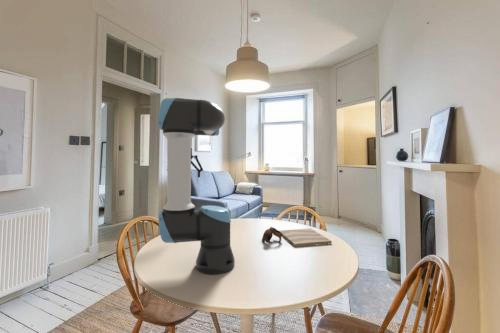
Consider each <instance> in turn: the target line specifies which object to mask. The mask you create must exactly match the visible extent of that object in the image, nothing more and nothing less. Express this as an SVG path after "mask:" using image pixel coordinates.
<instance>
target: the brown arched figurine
mask: <svg viewBox="0 0 500 333" xmlns="http://www.w3.org/2000/svg"><path fill="white" fill-rule="evenodd" d="M262 235H263V236H262V239H261V242H262V243H264V244H265V243H270V242H271V240H272V238H273V236H274V237H277V238H279V239H278V243H279V244H280V243H281V241H282V237H283V236H282V234H281V233H280V232H279V230H278V229H277V228H275V227H273V226H270V227H269V228H267V229H266V230H265V231H264V232H263V234H262Z"/></svg>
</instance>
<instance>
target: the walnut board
mask: <svg viewBox="0 0 500 333" xmlns="http://www.w3.org/2000/svg"><path fill="white" fill-rule="evenodd" d="M278 231H279V232H280V233H281V234H282V236H281V237H282V238H284V240H286V241H287V242H288V243H289V244H291V245H292V246H293V247H294V248H297V247H300V248H301V247H309V246H308V245H312V246H317V245H316V244H324V245H328V244H327V243H331V244H332V240H330V239H329V238H328V237H326V236H324V235H322V234H320V232H317V231H316V230H314V229H312V228H298V229H297V228H296V229H283V230H282V229H281V230H280V229H279V230H278Z"/></svg>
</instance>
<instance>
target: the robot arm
mask: <svg viewBox="0 0 500 333" xmlns="http://www.w3.org/2000/svg"><path fill="white" fill-rule="evenodd" d="M225 120H226V116H225V113H224V112H223V109H221V107H219V106H218V105H217V104H216V103H214V102H212V101H210V100H206V99H191V98H181V97H170V98H169V97H166V98H163V99H162V100H161V102H160V105H159V110H158V116H157V121H158V122H157V126H158V129H159V130H161V131H162V135H163V136H164V137H165V138H166V140H167V141H166V149H167V150H166V154H167V155H166V156H167V158H166V159H167V161H166V163H167V166H166V168H167V169H166V171H167V176H166V178H167V179H166V183H167V188H166V190H167V191H166V192H167V194H166V197H167V200H166V201H167V202H166V204H165V205H163V208H162V211H160V212H159V214H158V230H159V236H160V238H161V240H162V242H164V243H165V244H171V243H172V244H177V243H178V244H179V243H189V242H200V247H199V250H198V254H197V257H196V259H195V260H196V261H195V268H196V270H197V271H198V272H200V273H202V274H207V275H219V274H223V273H226V272H230V271H231V270H232V269H233V268H234V267H235V264H236V263H235V256H234V253H233V250H232V246H231V222H232V220H231V212H230V210H229V209H228V208H226V207H222V206H218V205H209V204H208V205H202V206H201V207H200V209H199V210H196V205H195V204H193V203H192V193H191V191H192V167H193V168H194V169H195V170H196V184H199V178H201V172H203V171H204V168H203V167H202V165H201V162H200V161H199V158H198V154H197V155H193V147H192V146H193V138H194V137H195V136H208V137H209V136H211V137H214V136H219V134H220V129H222V127H223V126H224V124H225ZM192 159H194V160H195V161H196V163H197V165H198V167H197V165H196V164H195V163H194V162H193V160H192ZM191 165H192V166H191Z"/></svg>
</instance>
